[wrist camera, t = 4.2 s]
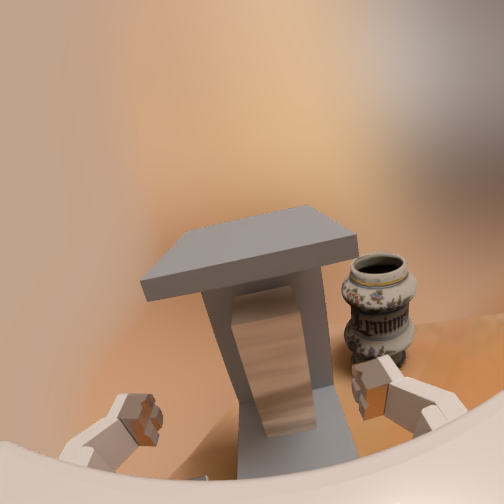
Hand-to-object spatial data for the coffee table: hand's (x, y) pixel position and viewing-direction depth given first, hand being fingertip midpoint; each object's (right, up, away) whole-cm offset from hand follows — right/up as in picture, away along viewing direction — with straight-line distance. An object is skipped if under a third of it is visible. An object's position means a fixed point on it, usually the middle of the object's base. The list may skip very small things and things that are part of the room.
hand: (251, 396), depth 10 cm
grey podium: (+6, -21, +17) cm, 28 cm away
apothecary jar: (+22, -13, +33) cm, 42 cm away
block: (+4, -12, +16) cm, 20 cm away
